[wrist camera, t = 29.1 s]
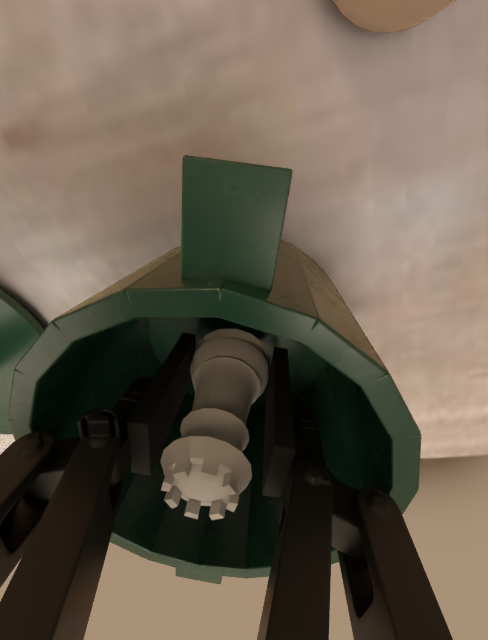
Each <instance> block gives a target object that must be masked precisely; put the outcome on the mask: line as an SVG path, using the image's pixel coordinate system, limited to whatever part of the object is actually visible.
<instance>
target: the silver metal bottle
mask: <svg viewBox="0 0 488 640" xmlns="http://www.w3.org/2000/svg"><path fill="white" fill-rule="evenodd" d="M454 1H456V0H333V2H334V3H335V5H336V6H337V7H338V9H339V10H340V11H341V13H342V14H343V15H344V16H345V17H346V18H347V19H349V20H350V21H351V22H352V23H353V24H355V25H356V26H359V27H361V28H363V29H366V30H368V31H372V32H380V33H389V32H397V31H403V30H405V29H408V28H410V27H413V26H416V25H418V24H420V23H422V22H423V21H425V20H427V19H428V18H430V17H432V16H433V15H435V14H436V13H438V12H439V11H441V10H442V9H444V8H445V7H447V6H448V5H450V4H451V3H453V2H454Z"/></svg>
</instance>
